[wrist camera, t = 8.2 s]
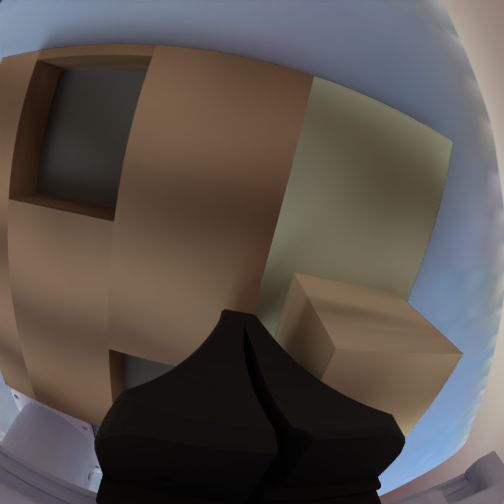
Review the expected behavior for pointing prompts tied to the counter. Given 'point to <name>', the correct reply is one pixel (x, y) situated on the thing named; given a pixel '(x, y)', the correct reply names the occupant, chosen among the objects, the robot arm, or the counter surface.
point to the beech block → (366, 346)
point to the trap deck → (187, 206)
